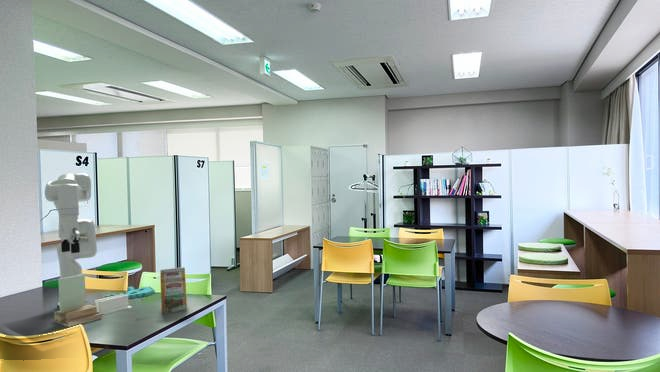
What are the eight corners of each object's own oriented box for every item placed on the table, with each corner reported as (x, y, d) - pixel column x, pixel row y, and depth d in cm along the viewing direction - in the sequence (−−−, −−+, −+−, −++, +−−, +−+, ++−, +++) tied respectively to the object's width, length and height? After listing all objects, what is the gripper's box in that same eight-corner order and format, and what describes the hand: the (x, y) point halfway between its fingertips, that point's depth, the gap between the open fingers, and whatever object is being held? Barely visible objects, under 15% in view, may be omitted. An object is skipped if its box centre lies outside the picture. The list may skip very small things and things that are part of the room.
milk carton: (186, 305, 205) (184, 265, 205) (186, 311, 195) (185, 269, 195) (162, 308, 202) (160, 267, 202) (161, 314, 192) (160, 271, 192)
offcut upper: (62, 317, 180) (62, 311, 180) (90, 310, 189) (90, 304, 189) (68, 319, 176) (68, 313, 176) (96, 312, 185) (96, 306, 185)
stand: (94, 314, 196) (94, 300, 196) (122, 307, 206) (122, 293, 206) (104, 317, 191) (103, 302, 191) (132, 309, 201) (131, 296, 201)
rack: (54, 325, 183) (54, 312, 183) (87, 316, 193) (86, 304, 193) (68, 330, 174) (68, 317, 174) (102, 321, 184) (101, 308, 184)
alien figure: (104, 300, 224) (139, 300, 220) (104, 295, 224) (138, 296, 220) (130, 290, 244) (161, 290, 240) (129, 286, 244) (161, 286, 240)
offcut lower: (63, 323, 180) (62, 317, 180) (90, 316, 189) (90, 310, 189) (69, 325, 176) (68, 319, 176) (97, 318, 185) (96, 312, 185)
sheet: (60, 321, 183) (58, 278, 183) (85, 314, 191) (83, 274, 191) (61, 321, 182) (59, 279, 182) (86, 315, 190) (84, 274, 190)
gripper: (51, 213, 188) (52, 252, 188) (67, 213, 178) (69, 254, 178) (69, 212, 194) (71, 250, 194) (86, 211, 184) (88, 251, 184)
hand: (70, 252), depth 186 cm, fingers open, 9 cm apart
